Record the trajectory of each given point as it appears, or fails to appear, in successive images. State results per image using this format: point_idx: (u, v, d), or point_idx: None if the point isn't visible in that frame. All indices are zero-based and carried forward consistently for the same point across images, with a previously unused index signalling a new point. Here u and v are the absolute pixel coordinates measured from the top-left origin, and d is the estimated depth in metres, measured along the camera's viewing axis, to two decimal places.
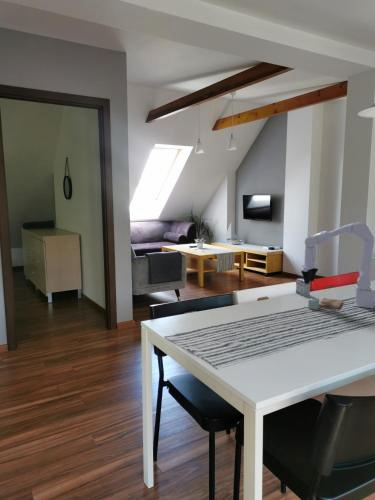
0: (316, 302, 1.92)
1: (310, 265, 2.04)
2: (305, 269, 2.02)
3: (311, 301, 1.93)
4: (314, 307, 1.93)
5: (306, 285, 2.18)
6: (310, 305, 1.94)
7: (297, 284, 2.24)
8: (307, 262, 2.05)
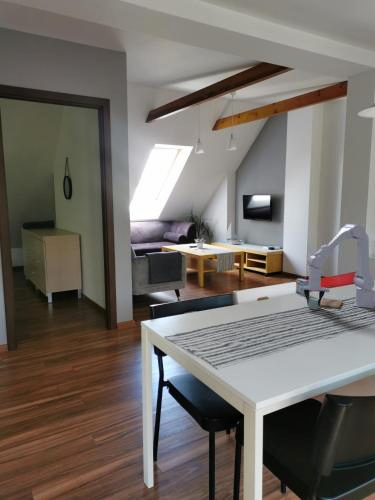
0: (316, 302, 1.92)
1: (309, 286, 1.93)
2: None
3: (311, 301, 1.93)
4: (314, 307, 1.93)
5: (306, 285, 2.18)
6: (310, 305, 1.94)
7: (297, 284, 2.24)
8: None
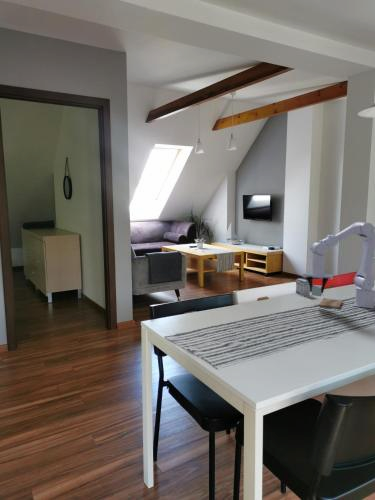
0: (319, 289, 1.92)
1: (312, 272, 1.94)
2: (303, 274, 1.97)
3: (314, 288, 1.93)
4: (317, 294, 1.93)
5: (306, 285, 2.18)
6: (313, 292, 1.94)
7: (297, 284, 2.24)
8: None
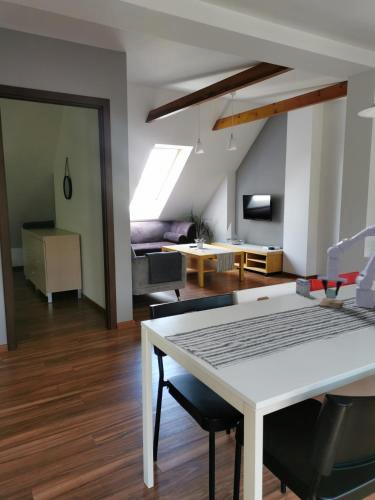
0: (334, 292, 1.98)
1: None
2: None
3: (329, 291, 1.99)
4: (332, 296, 1.98)
5: (306, 285, 2.18)
6: (328, 295, 1.99)
7: (297, 284, 2.24)
8: None
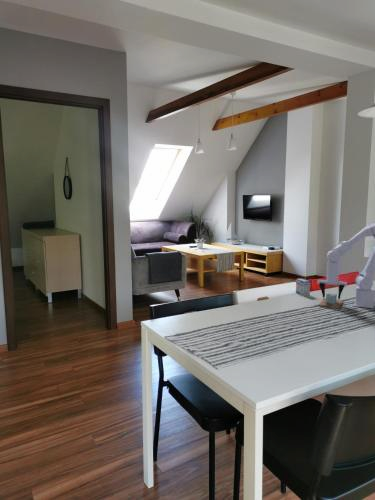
0: (334, 297, 1.98)
1: (326, 279, 2.00)
2: None
3: (329, 296, 1.99)
4: (332, 301, 1.99)
5: (306, 285, 2.18)
6: (328, 299, 2.00)
7: (297, 284, 2.24)
8: None
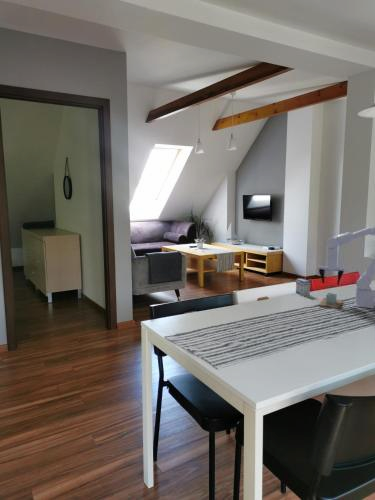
0: (334, 297, 1.98)
1: (326, 265, 2.04)
2: (317, 267, 2.08)
3: (329, 296, 1.99)
4: (332, 301, 1.99)
5: (306, 285, 2.18)
6: (328, 299, 2.00)
7: (297, 284, 2.24)
8: None
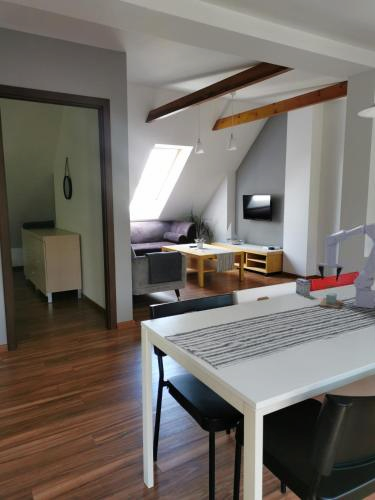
0: (334, 297, 1.98)
1: (325, 262, 2.11)
2: None
3: (329, 296, 1.99)
4: (332, 301, 1.99)
5: (306, 285, 2.18)
6: (328, 299, 2.00)
7: (297, 284, 2.24)
8: None
